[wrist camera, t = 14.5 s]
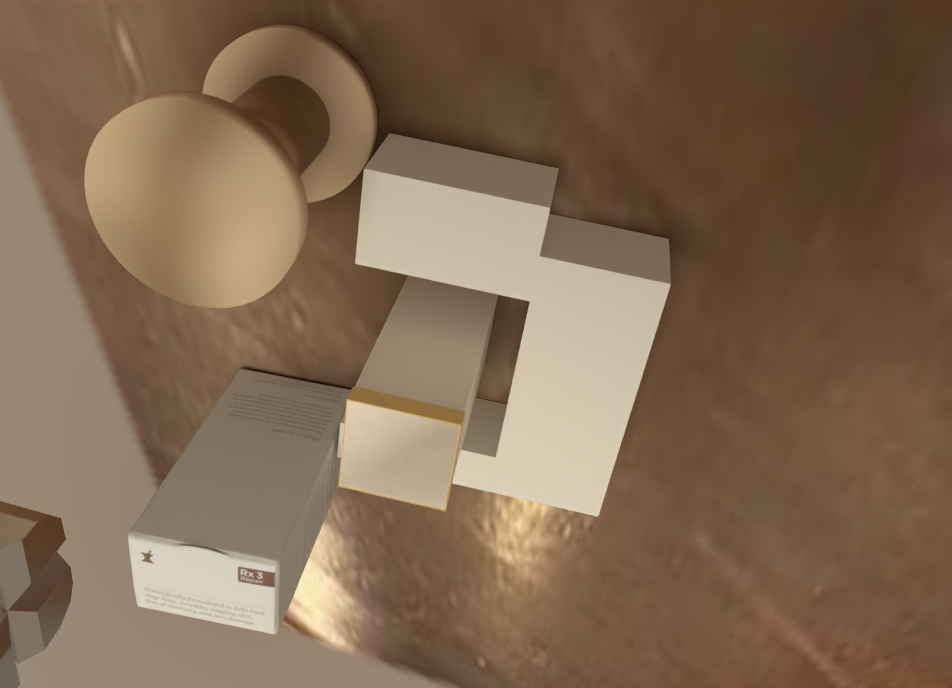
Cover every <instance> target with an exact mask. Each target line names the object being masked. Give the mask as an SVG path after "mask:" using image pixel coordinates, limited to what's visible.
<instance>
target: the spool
mask: <svg viewBox="0 0 952 688" xmlns="http://www.w3.org/2000/svg"><path fill="white" fill-rule="evenodd" d="M377 133H378V113H377V106H376V101H375V97H374V94H373V92H372V89H371V86H370V84H369V82H368V80H367V78H366V76H365V74H364V73H363V71H362V70H361V68H360V67H359V65H358V64H357V63H356V61H355V60H354V59H353V58H352V57H351V56H350V55H349V54H348V53H347V52H346V51H345V50H344V49H343V48H342V47H341V46H339V45H338V44H337V43H335V42H334V41H333V40H331V39H330V38H328V37H326V36H324V35H323V34H321V33H318V32H316V31H314V30H311V29H308V28H305V27H301V26H296V25H289V24H275V25H268V26H263V27H260V28H257V29H254V30H252V31H250V32H248V33H246V34H244V35H243V36H241V37H239V38H238V39H236V40H235V41H233V42H232V43H231V44H229V45H228V46H226V47H225V48H224V49H223V50H222V51H221V52H220V53H219V55H218V56H217V57H216V59H215V60H214V61H213V63H212V65H211V67H210V69H209V70H208V73H207V76H206V79H205V82H204V87H203V92H202V93H197V92H189V91H172V92H165V93H159V94H156V95H153V96H149V97H147V98H145V99H143V100H141V101H139V102H137V103H135V104H133V105H132V106H130V107H129V108H127V109H125V110H124V111H122V112H121V113H119V114H118V115H117V116H115V117H114V118H112V119H111V120H110V121H109V122H108V123H107V124H106V125H105V126H104V127H103V128H102V129H101V131H100V132H99V133H98V135H97V136H96V138H95V139H94V142H93V144H92V146H91V148H90V150H89V154H88V157H87V161H86V167H85V193H86V199H87V204H88V207H89V211H90V215H91V217H92V219H93V222H94V224H95V227H96V229H97V231H98V233H99V234H100V236H101V238H102V240H103V241H104V243H105V244H106V246H107V247H108V249H109V250H110V252H111V253H112V254H113V255H114V256H115V258H116V259H117V260H118V261H119V262H120V263H121V264H122V265H123V266H124V267H125V268H126V269H127V270H128V271H129V272H130V273H131V274H132V275H133V276H135V277H136V278H137V279H138V280H140V281H141V282H142V283H144V284H145V285H147V286H148V287H150V288H151V289H153V290H155V291H157V292H158V293H160V294H162V295H164V296H166V297H169V298H171V299H174V300H176V301H179V302H182V303H185V304H189V305H193V306H199V307H205V308H228V307H235V306H239V305H244V304H246V303H249V302H252V301H254V300H256V299H258V298H260V297H262V296H264V295H265V294H266V293H268V292H269V291H270V290H272V289H273V288H274V287H275V286H276V285H277V284H278V283H279V282H280V281H281V280H282V278H283V277H284V276H285V274H286V273H287V272H288V270H289V269H290V267H291V266H292V265H293V263H294V262H295V260H296V259H297V257H298V256H299V253H300V251H301V249H302V247H303V244H304V241H305V237H306V234H307V227H308V204H307V203H308V202H316V201H320V200H324V199H327V198H329V197H332V196H334V195H336V194H337V193H339V192H341V191H342V190H344V189H345V188H346V187H347V186H349V185H350V184H351V183H352V182H353V180H354V179H355V178H356V177H357V176H358V174H359V173H360V172H361V170H362V169H363V168H364V166H365V165H366V163H367V162H368V160H369V158H370V156H371V154H372V152H373V149H374V146H375V143H376V138H377Z"/></svg>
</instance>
